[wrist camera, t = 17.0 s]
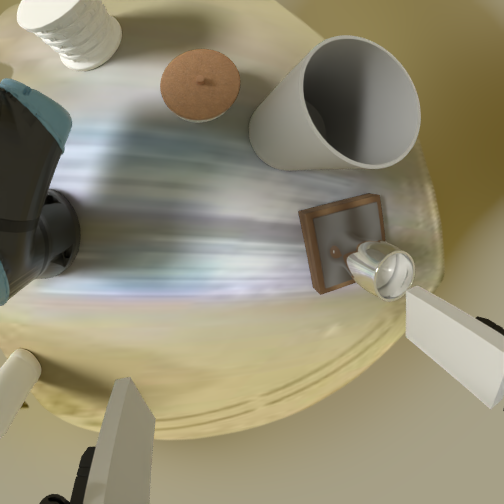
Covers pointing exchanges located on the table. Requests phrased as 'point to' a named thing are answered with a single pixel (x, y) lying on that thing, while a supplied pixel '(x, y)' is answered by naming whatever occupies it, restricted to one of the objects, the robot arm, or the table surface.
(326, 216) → the walnut stand
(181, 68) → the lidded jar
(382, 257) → the beer glass
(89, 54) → the decorative container
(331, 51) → the cylinder vase
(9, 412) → the bottle
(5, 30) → the table surface
